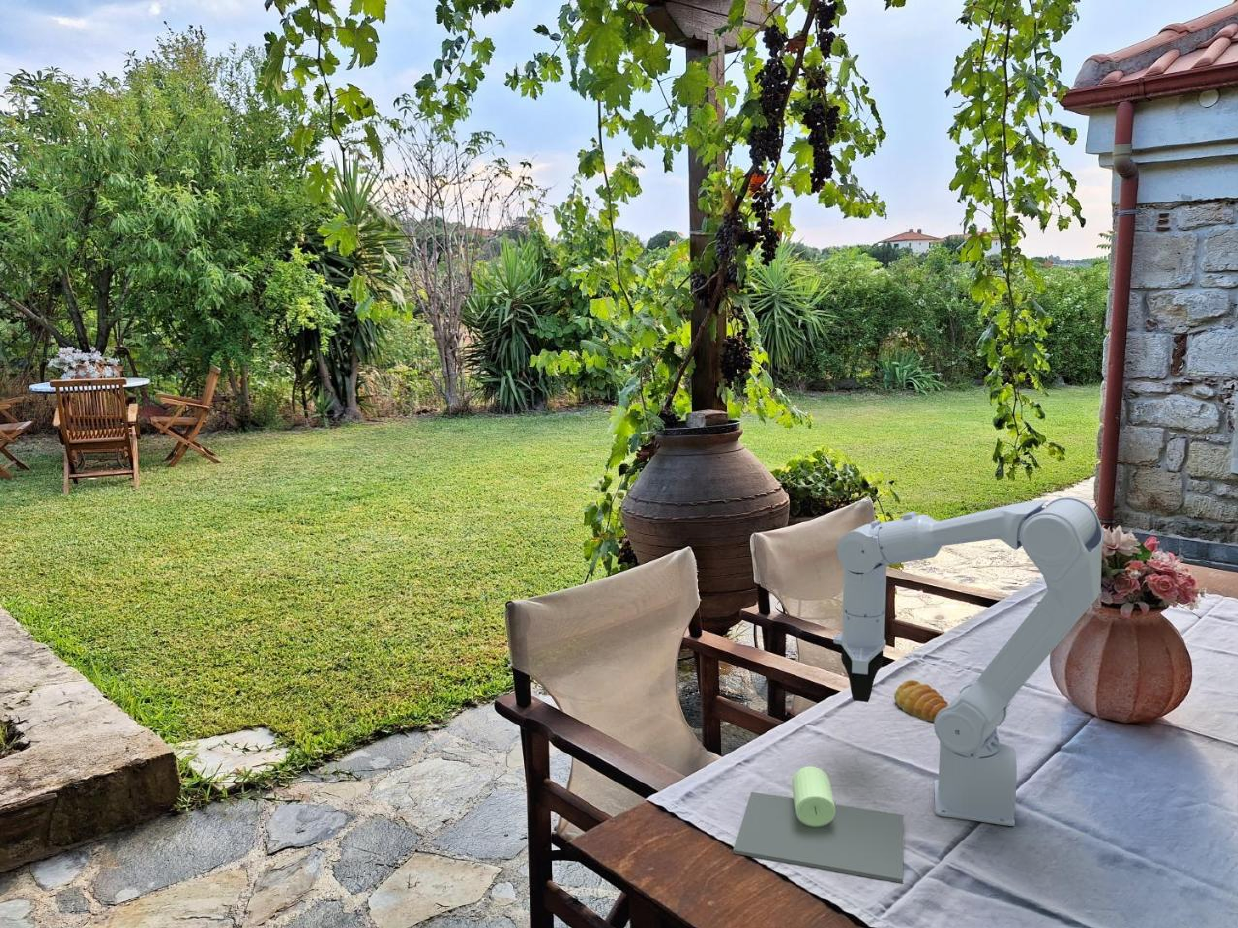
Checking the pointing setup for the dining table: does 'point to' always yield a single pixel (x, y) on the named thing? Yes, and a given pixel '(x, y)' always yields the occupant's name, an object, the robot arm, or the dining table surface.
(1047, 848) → the dining table surface
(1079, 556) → the robot arm
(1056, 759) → the dining table surface
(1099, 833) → the dining table surface
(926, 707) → the pastry
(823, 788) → the candle
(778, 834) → the mat
